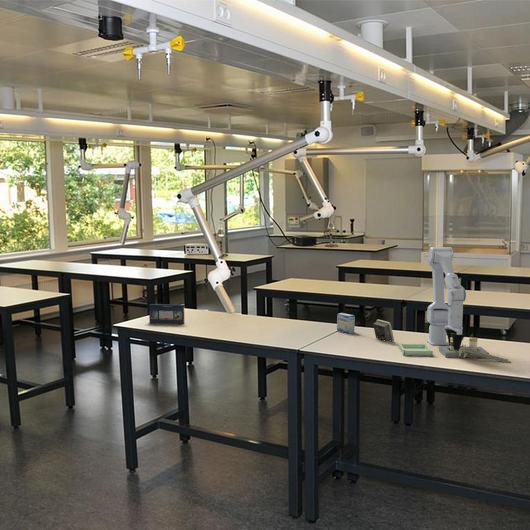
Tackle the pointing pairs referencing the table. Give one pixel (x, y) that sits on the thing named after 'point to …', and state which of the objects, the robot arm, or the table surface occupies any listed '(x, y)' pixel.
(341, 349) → the table surface
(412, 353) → the parts tray
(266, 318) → the table surface
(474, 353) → the caliper
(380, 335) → the electrical switch
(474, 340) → the fuse
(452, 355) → the fuse block
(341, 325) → the medicine box
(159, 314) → the vhs cassette tape
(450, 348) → the banded cream cylinder
